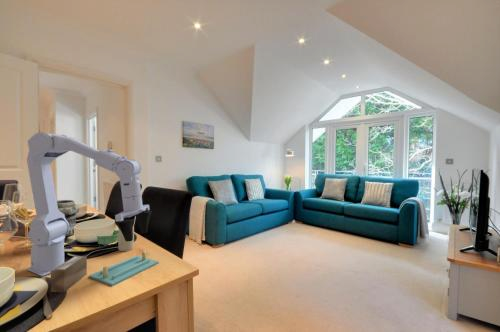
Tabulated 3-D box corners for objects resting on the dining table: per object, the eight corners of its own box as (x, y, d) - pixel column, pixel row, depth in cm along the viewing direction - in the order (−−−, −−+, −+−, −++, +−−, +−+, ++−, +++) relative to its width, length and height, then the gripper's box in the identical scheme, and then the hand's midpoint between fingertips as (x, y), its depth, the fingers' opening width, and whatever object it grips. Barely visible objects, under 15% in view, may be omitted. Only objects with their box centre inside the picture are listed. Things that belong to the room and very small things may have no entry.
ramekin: (126, 240, 106) (126, 230, 106) (109, 248, 97) (109, 237, 97) (108, 238, 108) (108, 229, 108) (91, 245, 99) (91, 235, 99)
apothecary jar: (83, 243, 101) (82, 201, 100) (46, 251, 92) (45, 205, 91) (75, 237, 109) (74, 197, 108) (40, 244, 100) (39, 201, 99)
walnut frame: (50, 293, 65) (50, 270, 65) (74, 275, 75) (74, 255, 74) (64, 292, 65) (64, 270, 65) (86, 274, 75) (86, 255, 75)
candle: (127, 252, 93) (127, 226, 93) (115, 250, 94) (115, 225, 94) (136, 247, 98) (136, 222, 98) (125, 245, 100) (125, 221, 99)
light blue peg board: (89, 277, 73) (89, 265, 73) (136, 257, 89) (136, 247, 88) (112, 286, 68) (112, 273, 68) (158, 263, 84) (158, 253, 84)
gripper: (127, 199, 71) (133, 244, 71) (155, 191, 85) (159, 229, 86) (107, 201, 72) (112, 245, 73) (137, 193, 86) (142, 230, 87)
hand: (136, 236), depth 79 cm, fingers open, 7 cm apart
